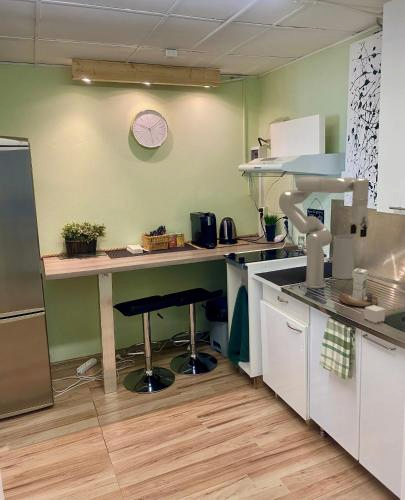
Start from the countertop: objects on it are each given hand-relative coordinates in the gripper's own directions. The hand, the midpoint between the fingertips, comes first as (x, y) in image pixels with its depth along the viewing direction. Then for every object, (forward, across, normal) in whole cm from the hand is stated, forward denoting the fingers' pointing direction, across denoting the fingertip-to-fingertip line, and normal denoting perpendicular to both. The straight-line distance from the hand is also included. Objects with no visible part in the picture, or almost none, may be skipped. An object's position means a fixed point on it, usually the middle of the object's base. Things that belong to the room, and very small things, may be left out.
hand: (358, 235), depth 218 cm
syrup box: (+30, +12, -5) cm, 33 cm away
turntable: (+32, +12, -5) cm, 35 cm away
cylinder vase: (+32, -32, +10) cm, 47 cm away
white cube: (+33, +36, -11) cm, 50 cm away
